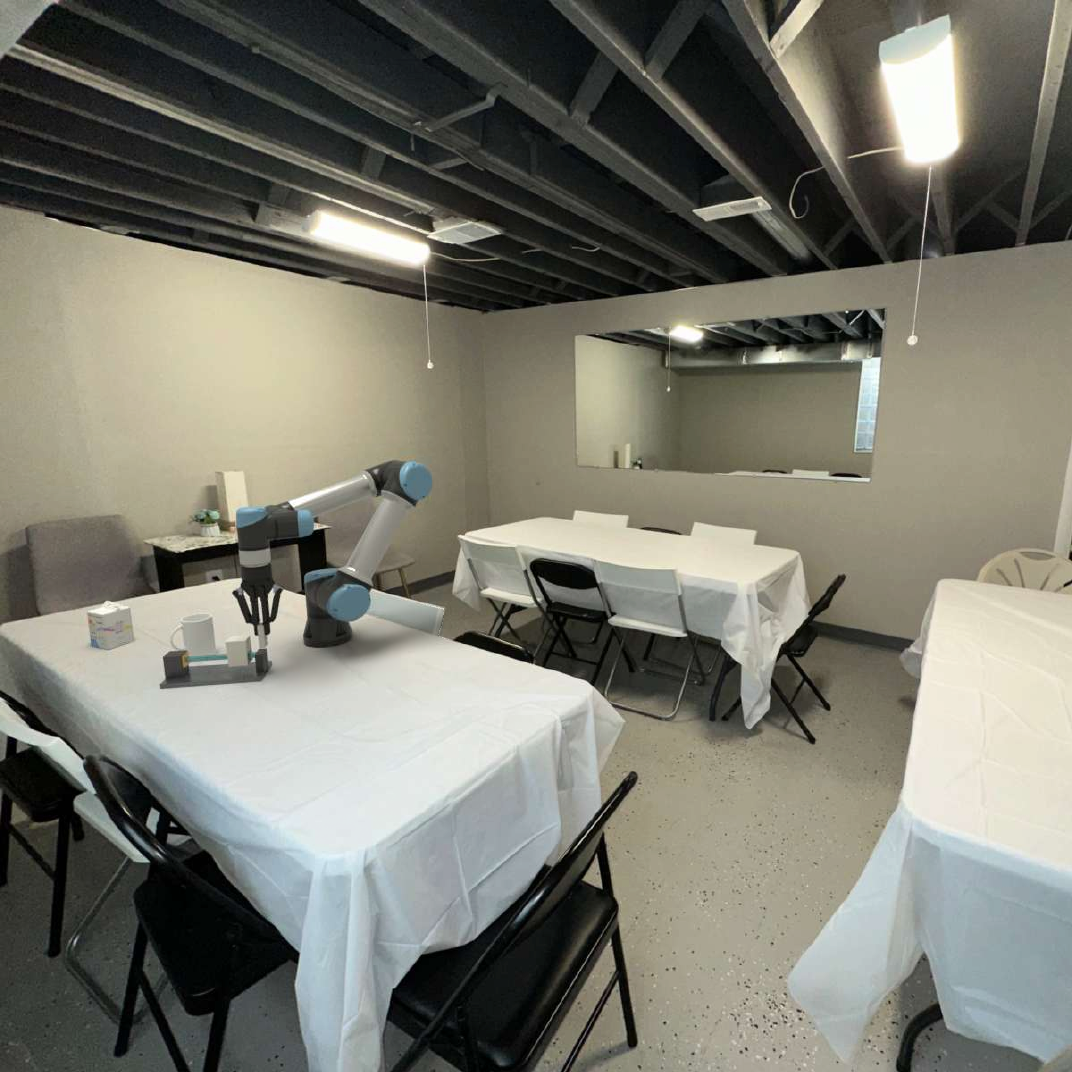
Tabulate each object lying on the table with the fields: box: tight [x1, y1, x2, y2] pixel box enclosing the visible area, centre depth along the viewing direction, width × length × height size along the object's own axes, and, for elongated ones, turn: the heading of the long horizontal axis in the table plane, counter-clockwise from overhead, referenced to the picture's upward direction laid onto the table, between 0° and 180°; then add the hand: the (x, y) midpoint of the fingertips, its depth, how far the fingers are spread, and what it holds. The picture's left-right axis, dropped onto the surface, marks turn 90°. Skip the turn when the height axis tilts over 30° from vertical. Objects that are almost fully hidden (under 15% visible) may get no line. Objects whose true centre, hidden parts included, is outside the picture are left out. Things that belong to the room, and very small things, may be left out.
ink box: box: [86, 600, 136, 651], centre depth 180 cm, size 9×8×13 cm
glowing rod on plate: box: [159, 647, 273, 689], centre depth 157 cm, size 25×11×7 cm, turn 100°
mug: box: [169, 612, 218, 656], centre depth 170 cm, size 12×8×12 cm
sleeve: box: [225, 634, 254, 667], centre depth 157 cm, size 5×4×7 cm
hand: (263, 646), depth 158 cm, fingers closed
